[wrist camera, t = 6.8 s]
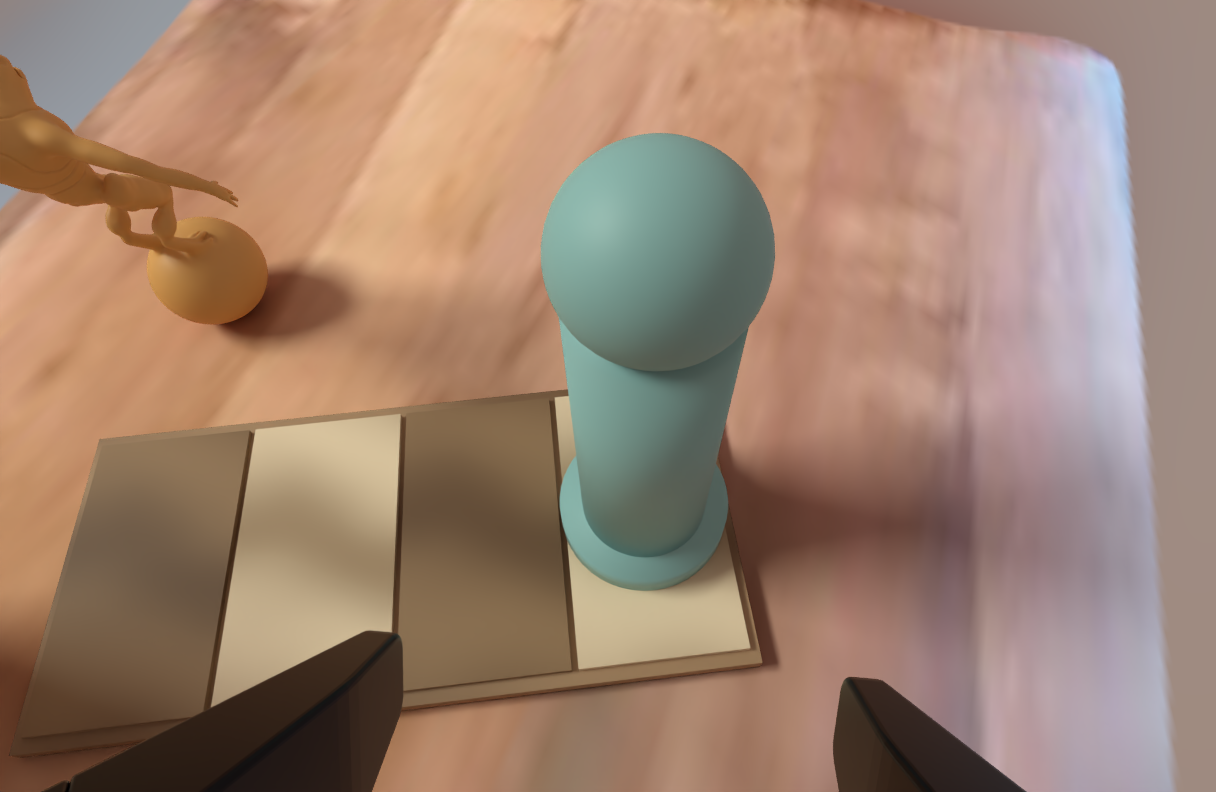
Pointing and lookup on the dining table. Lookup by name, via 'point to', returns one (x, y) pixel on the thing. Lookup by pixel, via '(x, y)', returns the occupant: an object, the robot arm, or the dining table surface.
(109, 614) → the board
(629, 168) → the pawn
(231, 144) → the dining table surface
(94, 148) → the figurine
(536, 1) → the dining table surface
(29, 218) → the dining table surface
